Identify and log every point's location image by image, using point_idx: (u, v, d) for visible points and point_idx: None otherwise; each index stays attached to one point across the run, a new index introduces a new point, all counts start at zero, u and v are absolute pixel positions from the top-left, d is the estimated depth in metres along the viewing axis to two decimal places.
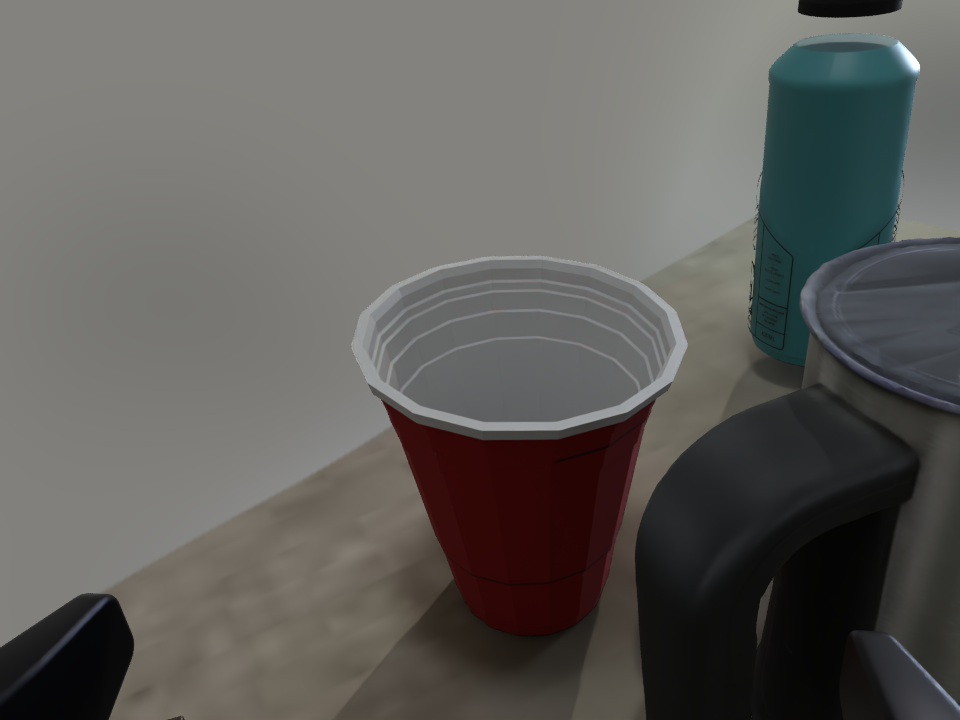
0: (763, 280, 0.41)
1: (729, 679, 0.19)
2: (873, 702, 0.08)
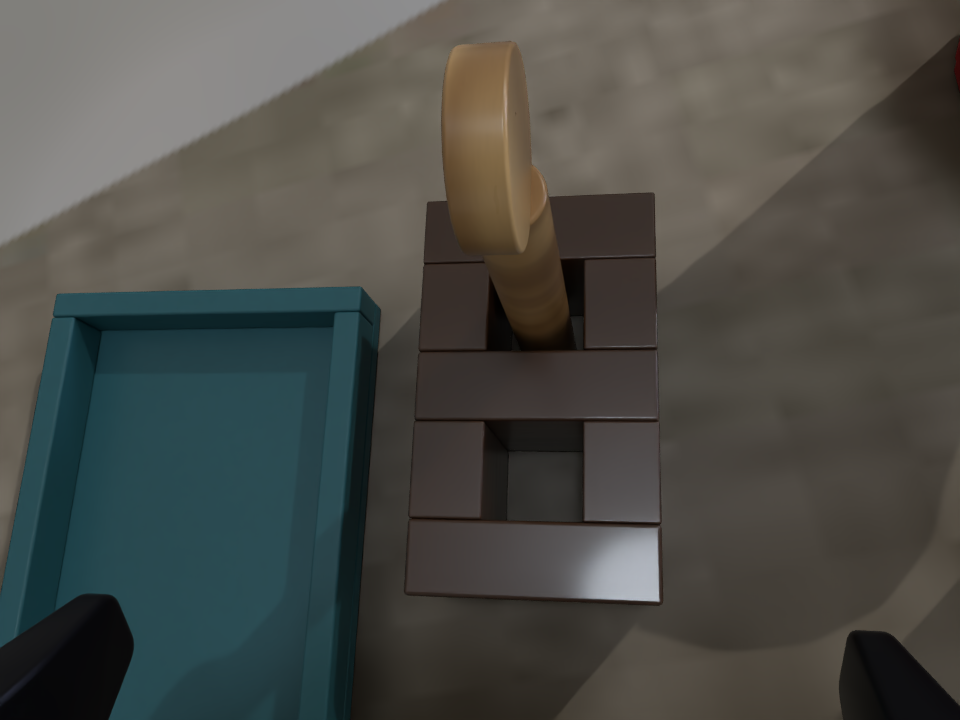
0: None
1: None
2: (873, 702, 0.08)
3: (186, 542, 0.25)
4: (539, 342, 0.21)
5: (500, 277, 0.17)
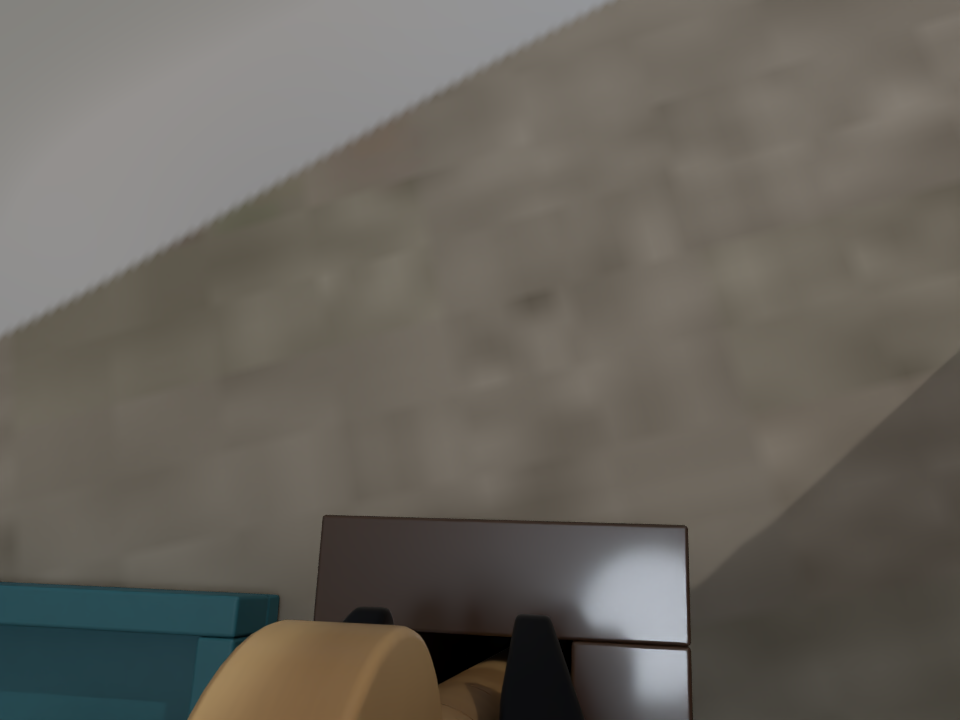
0: None
1: None
2: None
3: None
4: None
5: None
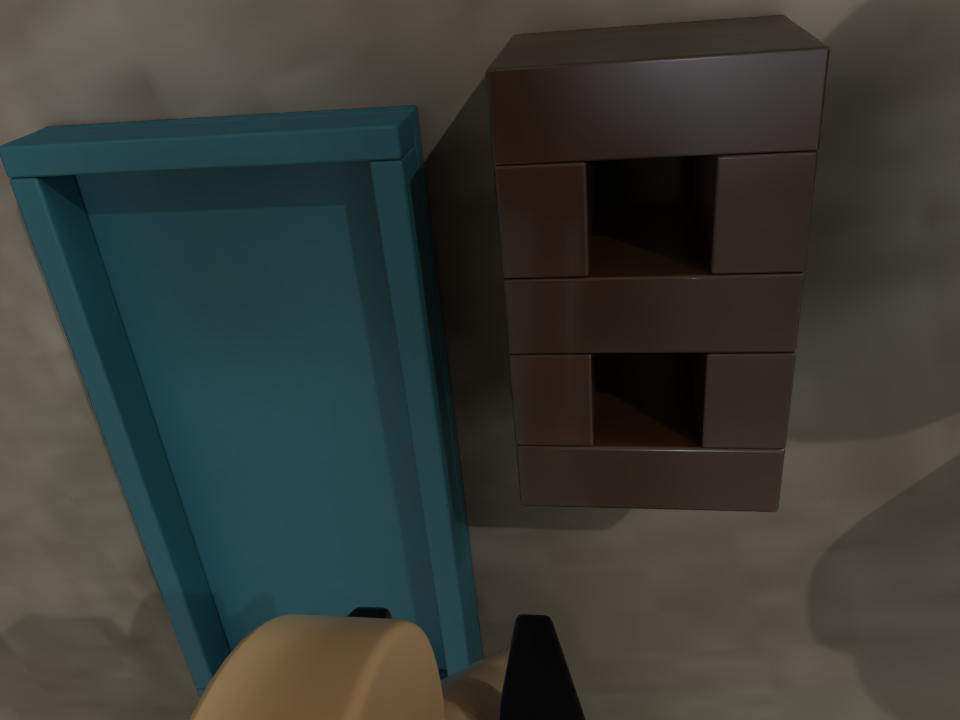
0: None
1: None
2: None
3: (267, 382, 0.24)
4: None
5: None
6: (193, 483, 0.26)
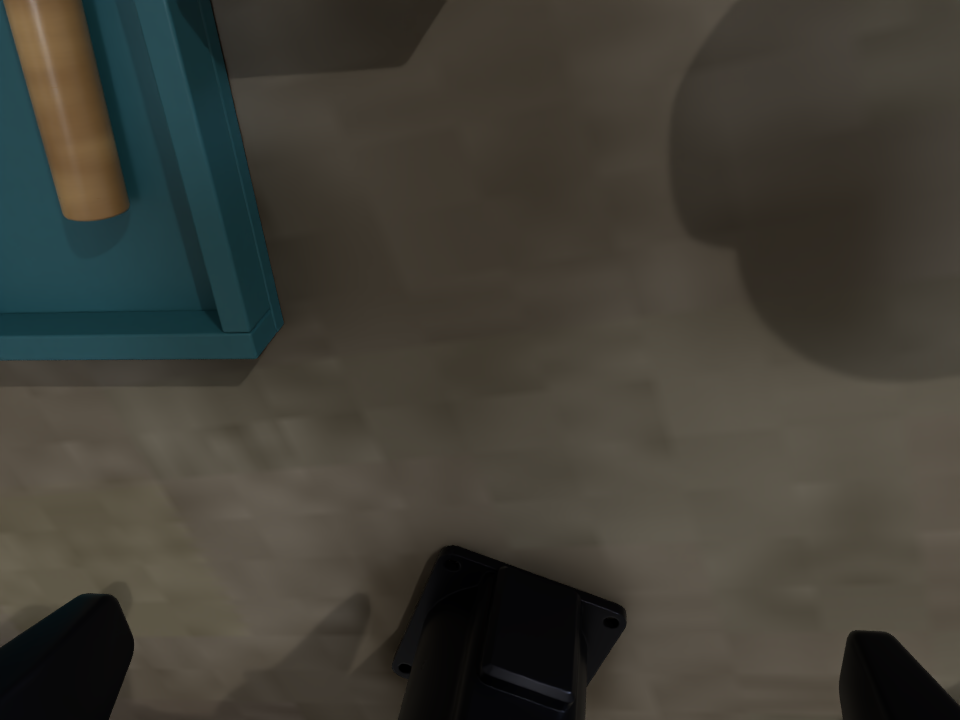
0: None
1: None
2: (873, 702, 0.08)
3: None
4: (90, 55, 0.19)
5: None
6: None
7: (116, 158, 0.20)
